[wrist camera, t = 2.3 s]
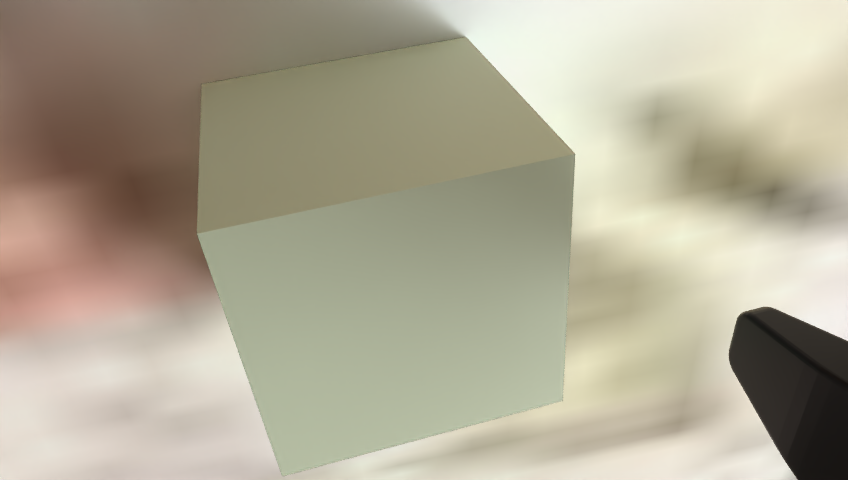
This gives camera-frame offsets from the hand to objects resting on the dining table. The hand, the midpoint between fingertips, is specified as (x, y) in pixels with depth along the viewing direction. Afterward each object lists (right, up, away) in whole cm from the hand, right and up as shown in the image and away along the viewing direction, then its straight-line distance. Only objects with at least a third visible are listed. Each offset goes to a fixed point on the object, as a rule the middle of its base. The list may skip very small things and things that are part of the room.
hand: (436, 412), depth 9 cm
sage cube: (-2, +4, +5) cm, 7 cm away
